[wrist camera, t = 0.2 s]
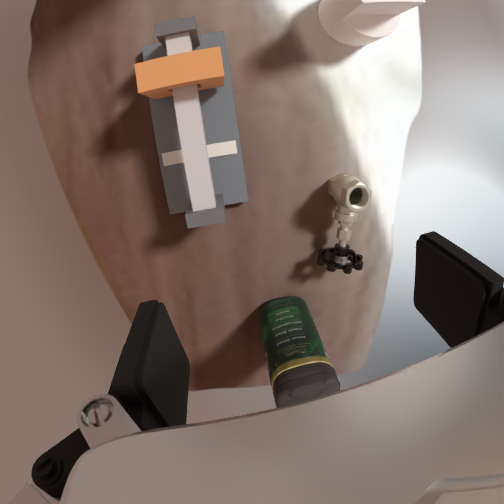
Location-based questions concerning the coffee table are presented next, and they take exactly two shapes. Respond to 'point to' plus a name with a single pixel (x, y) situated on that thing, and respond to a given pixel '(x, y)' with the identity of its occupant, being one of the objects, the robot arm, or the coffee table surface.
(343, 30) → the cylinder with rectangular tab
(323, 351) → the coffee jar
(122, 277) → the coffee table surface
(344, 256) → the valve
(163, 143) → the slider rail fixture
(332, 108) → the coffee table surface
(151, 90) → the orange rectangular prism
